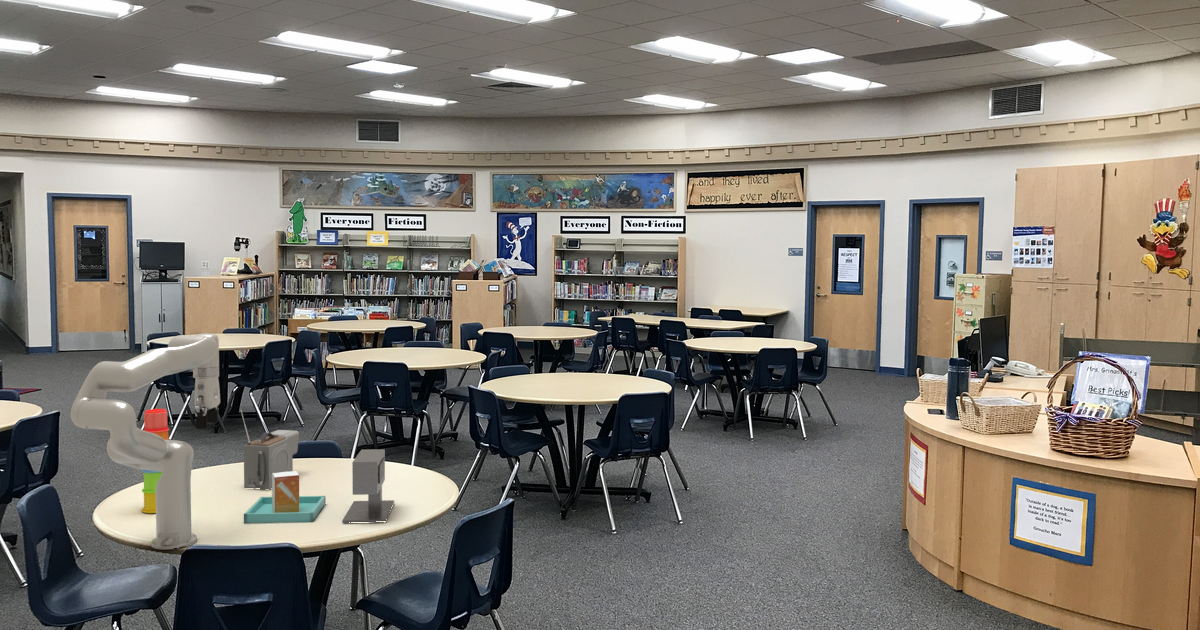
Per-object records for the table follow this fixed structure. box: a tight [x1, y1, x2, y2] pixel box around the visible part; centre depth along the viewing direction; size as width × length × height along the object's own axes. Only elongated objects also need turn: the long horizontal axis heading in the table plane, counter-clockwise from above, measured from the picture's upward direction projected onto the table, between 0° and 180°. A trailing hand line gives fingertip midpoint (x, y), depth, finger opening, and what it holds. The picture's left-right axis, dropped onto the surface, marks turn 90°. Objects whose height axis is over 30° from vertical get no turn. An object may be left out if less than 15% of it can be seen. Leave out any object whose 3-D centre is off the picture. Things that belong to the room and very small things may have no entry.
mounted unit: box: [341, 448, 395, 524], centre depth 284 cm, size 22×14×20 cm, turn 7°
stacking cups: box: [141, 408, 170, 514], centre depth 284 cm, size 10×10×35 cm
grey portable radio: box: [240, 409, 300, 490], centre depth 321 cm, size 12×24×30 cm, turn 172°
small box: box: [271, 470, 300, 513], centre depth 283 cm, size 8×6×13 cm
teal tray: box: [243, 495, 327, 524], centre depth 284 cm, size 20×22×3 cm
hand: (207, 425), depth 266 cm, fingers open, 9 cm apart
